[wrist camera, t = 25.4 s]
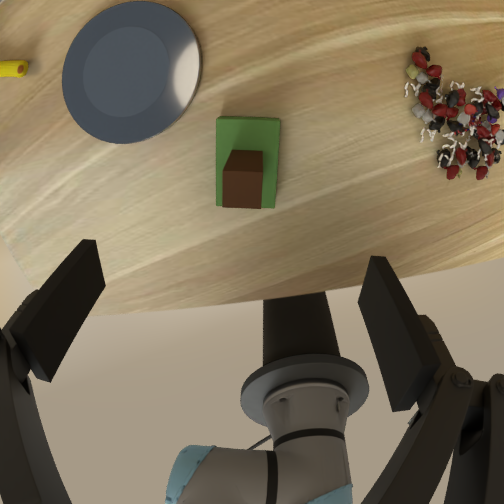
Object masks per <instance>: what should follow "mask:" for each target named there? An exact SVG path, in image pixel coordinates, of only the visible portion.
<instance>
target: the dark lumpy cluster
mask: <svg viewBox="0 0 504 504" xmlns="http://www.w3.org/2000/svg"><path fill="white" fill-rule="evenodd" d="M426 50H427V48H426V47H423V48H421V47H417V48H416V50H415V52H414V53H413V54H412V59H413V61H414V62H415V65H416V66H418V67H420V68H423V69H426V68H427V62H426V61H428V62H429V61H430V55H429V53H428V52H427V51H426ZM415 65H412V64H411V65H410V66H409V67H408V68H407V69H406V72H407V74H408V75H409V77H410V78H412V79H415V78H416V79H417V81H418V82H419V83H418V85H417V86H416V87H415V85H414V84H413V83H412V84H410V85H412V86H413V90H414V91H416V93H415V96H418V93H419V90H418V89H419V88H420V86H421V84H424V83H426V82H427V81H428V82H427V83H426V85H424V86H423V88H422V93H420V94H419V100H420V101H421V104H422V105H424V106H425V107H427V108H428V109H427V111H426V112H425V109H424V108H423V106H422V105H421V104H419V103H417V104H416V105H415V106H414V107H413V108H412V111H413V113H414V115H415V116H416V117H417V118H421V117H422V119H423V120H424V121H425V122H424V123H425V124H427V123H428V122H430V121H431V120H432V121H431V122H430V124H429V129H427V131H428V132H429V136H430V137H431V138H430V141H433V139H434V134H436V131H437V130H438V133H440V128H441V127H442V126H443V125H444V123H445V118H446V117H448V118H447V119H446V120H447V124H448V126H449V128H450V130H451V131H452V132H451V133H450V135H449V133H446V134H443V135H442V136H443V137H446V136H449V137H448V138H447V139H449V140H450V139H451V140H453V141H455V139H454V138H452V136H453V134H454V133H455V135H456V136H458V134H460V136H464V132H465V131H466V132H467V131H468V130H469V129H468V128H465V125H466V124H467V123H468V125H469V126H470V131H471V132H470V135H471V136H472V135H473V136H474V137H475V138H476V139H477V140H478V143H479V147H480V149H479V151H478V152H477V151H476V150H475V149H471V148H470V147H469V146H467V142H466V141H465V144H464V145H462V143H461V142H458V143H459V144H460V147H458V148H457V149H455V146H456V143H457V140H456V141H455V142H454V144H453V145H451V146H450V145H448V144H445V145H443V146H442V148H444V147H448V146H449V147H450V149H451V148H453V152H452V153H451V154H452V155H451V156H450V151H449V150H448V149H444V150H442V151H441V152H440V150H438V151H437V154H438V156H437V161H438V163H439V165H438V166H437V168H440V167H442V168H444V169H447V179H449V180H450V179H454V178H455V176H458V177H459V178H460V175H461V174H462V170H461V168H462V167H464V166H465V164H466V162H467V163H468V164H469V166H470V167H471V168H472V169H474V170H476V169H477V171H476V179H477V180H481V179H483V178H484V177H485V176H486V178H488V176H487V175H488V174H489V171H488V169H489V168H491V167H492V165H493V164H496V163H498V162H499V161H500V155H499V153H500V154H501V151H498V150H497V149H499V148H500V145H503V144H504V130H501V129H499V128H500V125H499V124H494V125H492V124H491V123H495V122H496V121H497V119H498V118H499V117H500V116H499V113H498V111H499V110H500V109H501V110H502V111H504V89H497V88H496V87H495V89H496V90H497V97H498V98H499V99H498V98H497V97H496V96H495V93H494V94H493V93H492V92H491V91H489V90H482V93H483V96H482V94H481V93H480V92H479V91H480V89H481V86H479V87H478V88H472V89H470V91H475V90H476V89H477V90H476V91H477V92H474V93H476V94H480V95H481V96H482V97H481V99H479V100H478V99H476V98H472V99H471V103H472V101H473V100H475V102H474V103H473V104H466V103H465V97H466V93H465V91H464V89H462V88H463V87H464V85H465V84H464V82H462V85H461V86H460V85H459V84H458V83H457V82H456V83H455V84H457V85H458V90H453V88H452V86H453V83H454V81H452V82H451V84H450V88H451V91H450V92H449V94H445V97H446V98H445V99H446V102H447V105H448V106H447V105H446V104H442V103H441V102H442V99H443V96H441V98H439V99H438V100H436V101H435V102H436V103H438V102H439V104H437V105H435V106H434V107H433V101H434V100H435V99H436V94H438V95H439V96H440V93H438V89H439V87H440V80H441V78H443V77H442V76H441V77H439V76H440V75H441V73H442V67H441V66H440V65H432V66H430V67H429V68H427V69H426V73H427V74H428V75H429V76H432V77H438V78H433V79H431V80H428V75H427V74H425V73H424V72H421V73H420V74H419V70H418V68H417V67H416V66H415ZM443 76H444V75H443ZM442 81H443V80H442ZM420 83H421V84H420ZM408 85H409V82H407V83H406V85H405V87H404V89H406V95H405V96H404V97H407V96H408V89H407V87H408ZM441 85H442V84H441ZM460 87H461V88H460ZM416 89H417V90H416ZM441 89H442V87H441ZM442 93H443V92H442ZM442 93H441V94H442ZM499 100H501V102H500V101H499ZM489 102H490V103H489ZM456 104H457V106H463V105H465V104H466V105H465V108H464V111H465V113H464V112H462V113H461V114H460V115H459V116H458V118H457V121H453V120H449V119H450V118H452V117H456V115H457V114H458V111H459V109H458V108H456V107H454V106H455V105H456ZM429 109H431V112H430V111H429ZM424 112H425V113H424ZM487 113H488V115H487V121H488V122H487V121H486V120H485V121H484V122H483V121H481V119H482V118H481V117H480V116H479V115H485V114H487ZM433 115H434V118H435V119H433ZM444 115H445V116H444ZM482 122H483V123H482ZM469 123H470V124H471V125H472V126H471V125H470V124H469ZM479 123H480V124H481V123H482V124H481V126H480V125H478V124H479ZM466 129H467V130H466ZM430 130H434V131H433V132H432V134H431V131H430ZM490 130H491V132H490ZM424 131H425V127H424V128H423V129H422V131H421V133H420V134H421V135H422V138H421V141H420V142H421V143H422V142H423V140H424V136H423V133H424ZM494 135H495V137H494ZM469 137H470V136H469ZM470 140H471V139H470ZM467 141H468V140H467ZM493 143H495V144H496V145H497V147H496V148H497V149H496V148H492V149H491V147H492V144H493ZM455 150H456V151H455ZM481 151H482V156H485V158H484V160H485V165H486V166H478V168H475V167H476V166H477V164H478V163H479V161H480V156H479V154H480V152H481ZM454 153H455V154H456V158H457V160H458V161H457V163H458V165H450V164H451V161H452V160H453V157H454V156H453V155H454ZM466 158H467V161H466ZM446 165H447V166H448V167H446Z"/></svg>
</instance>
